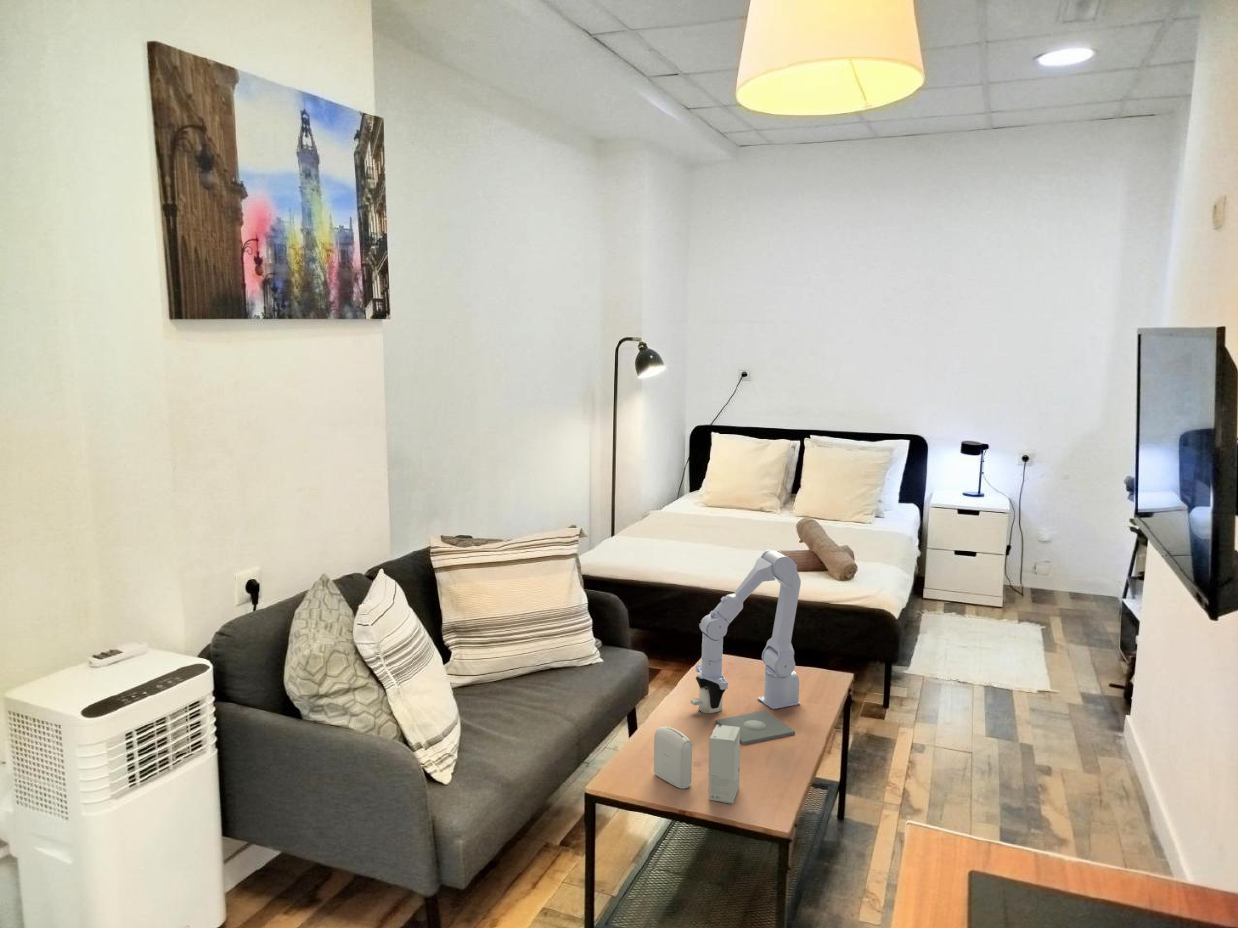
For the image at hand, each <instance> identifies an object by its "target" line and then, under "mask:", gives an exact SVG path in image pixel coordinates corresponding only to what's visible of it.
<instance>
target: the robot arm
mask: <svg viewBox="0 0 1238 928" xmlns="http://www.w3.org/2000/svg"><path fill="white" fill-rule="evenodd" d="M772 581H777V582H778V583H779V585H780V587H779V592H778V598H777V604H776V610H775V611H776V612H775V616H774V622H773V623H774V624H773V627H772V634H771V638H769V639H768V640H767V641H766V645H765V647H764V649H763V651H762V653H761V660H762V662H763V664H764V665H765V669H764V685H763V686H764V689H763V693H764V694H763V696H758V697H757V700H758V701H761V703H763V704H765V706H767V707H769V708H770V709H772V710H776V709H782V708H788V707H790V706H791V707H792V706H797V705H801V702H800V700H799V699H800V698H799V697H800V678H799V675H798V673H797V672H796V671H795V668H796V662H795V650H794V648H793V644H792V638H793V632H794V624H795V619H796V614H797V607H798V601H799V596H800V590H801V577H800V575H799V571H798V564H797V563H796V562H795V561H794V560H793V559H792V558H791V557H789V556H786V555H785V554H783V553H782V552H779V551H778V550H776V549H775V548H773V549H772V548H770V549H767V550H765V551H763V553H762V554H761V556H760V557H759V558H758V559H756V561H755V564H754V565H753V568H752V569H751V570H750V572H749V573H748V575H746V577H745V578H744V579H743V581H742V582H741V583H740V584H739V586H738V587H737V589H735V591H734V593H730V594H726V595H725V596H722V597H721V598H720V602H719V603H718V604H717V605H716V607H715V608H714V609H713V610H711V611H710V612H709V613H708V614H707V615H705V616H704V617H702V619H701V620H700V623H698V626H699V629H700V630H701V632H702V637H701V638H702V639H701V641H702V642H701V663H699V664H695V672H696V673H698V674H697V676H695V681H696V682H697V684H698V687H699V689H700V688H702V687H707V688H708V691H709V695H710V705H711V708H712V709H714V708H718V707H719V704H720V701H721V698H722V695H723V696H724V694H725V691H726V690H728V688H729V681H727V680H726V677H725V676H724V674H723V652H724V651H723V650H724V648H723V645H724V637H725V636H726V635H727V632H728V627H729V626H730V624H731V623H732V621H734V619H735V618H736V617H737V616H738V615H739V613H740V612H741V611H742V610H743V609H744V602H745V600H747V599H748V597H749V596H750V595H751V594H752V593H754V591H755V590H756V589H757V588H758V587H759V586H760V585H761V584H763V582H772Z"/></svg>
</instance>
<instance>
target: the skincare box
mask: <svg viewBox="0 0 1238 928" xmlns="http://www.w3.org/2000/svg"><path fill="white" fill-rule="evenodd" d="M740 745H741V744H740V727H734V726H725V725H718V724H716V725H715V727H714V729H712V734H711V735H710V736H709V739H708V800H709V801H716V802H721V803H725V804H730V805H733V804H734V803H735V797H736V796H737V793H738V791H739V789H740V762H741V761H740V758H741V757H740V754H741V753H740V752H741V748H740V747H741V746H740Z"/></svg>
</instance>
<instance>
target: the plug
mask: <svg viewBox="0 0 1238 928" xmlns="http://www.w3.org/2000/svg"><path fill="white" fill-rule="evenodd" d="M698 690H699V692H698V697H697V698H691V699H690V704H691V705H693V706H698V711H699V710H700V711H701V712H700V711H699V712H700V713H702V712H703V713H702V714H711V713H716V712H721V711H723V704H724V703H723V700H724V699H723V698H724V694H723V695H722V698H721V701H720V704H719V707H718V708H714V709H712V708H711V705H710V695H709V691H708V688H707V687H702V688H700V687H699V689H698Z"/></svg>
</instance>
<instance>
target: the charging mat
mask: <svg viewBox="0 0 1238 928" xmlns="http://www.w3.org/2000/svg"><path fill="white" fill-rule="evenodd" d="M715 724H716V725H725V726H734V727H740V743H741V744H742V745H748V744H752V743H753V744H754V743H758V742H764V741H768V740H773V739H778V738H783V737H788V736H791V735H796V731H795V730H794V729H792V728H791V727H790V726H789V725H788V724H785V723H784V722H783V721H781V720H780V719H778V718H777V717H775V715H772V713H770V712H769V711H768V710H766V709H765V710H760V711H755V712H751V713H745V714H740V715H734V716H730V717H729V716H728V717H724V718H718V719H715Z"/></svg>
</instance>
